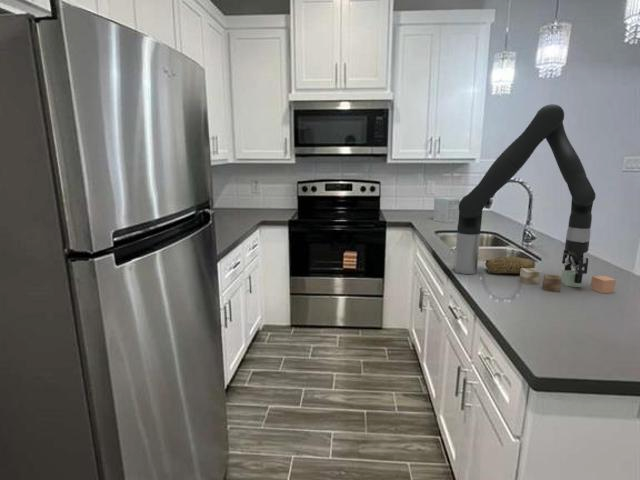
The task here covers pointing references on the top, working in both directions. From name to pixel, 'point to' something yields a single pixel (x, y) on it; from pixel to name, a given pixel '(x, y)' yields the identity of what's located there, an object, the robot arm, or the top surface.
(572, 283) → the sage block
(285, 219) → the top surface
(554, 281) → the walnut block
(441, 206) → the supplement box
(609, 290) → the terracotta block
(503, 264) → the sponge
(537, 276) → the maple block
